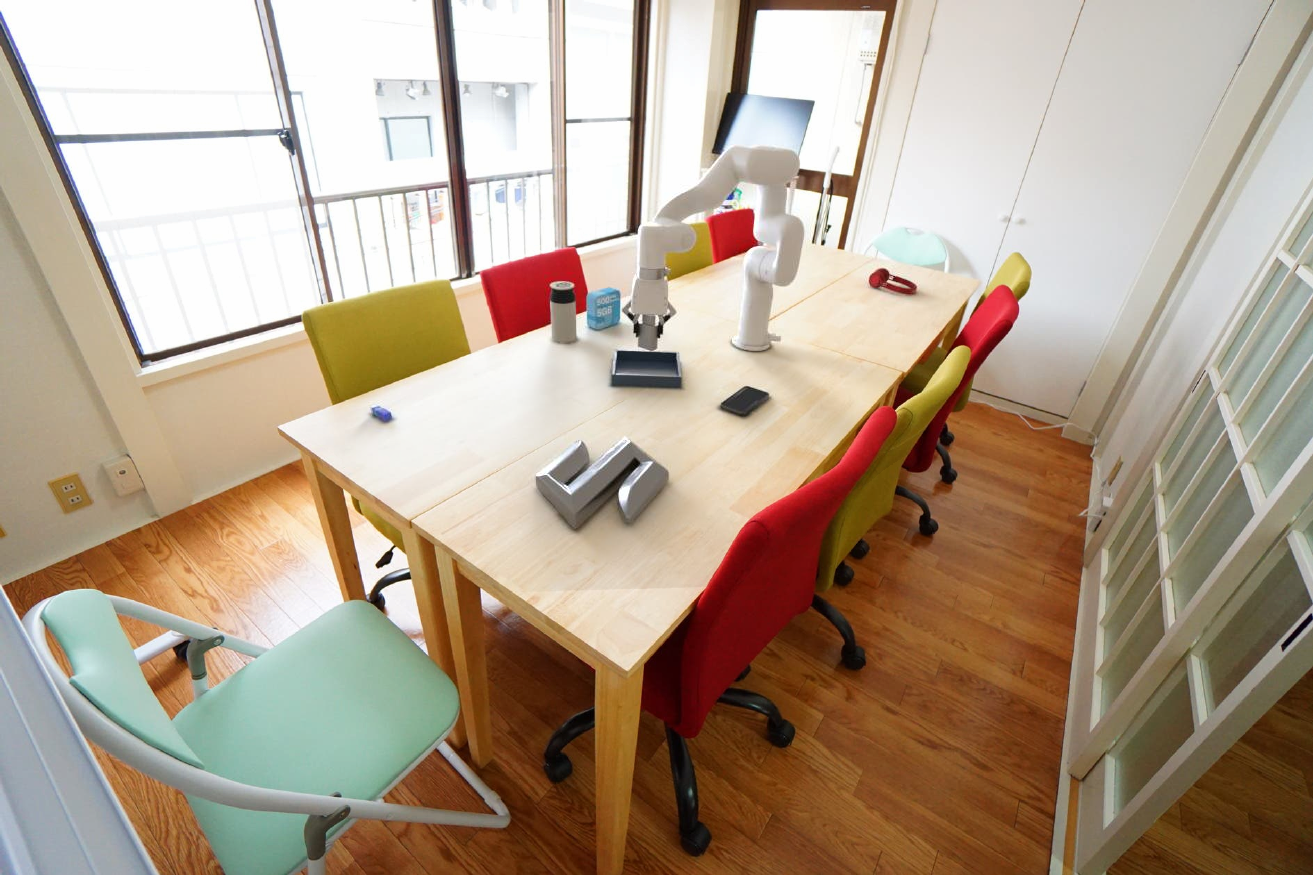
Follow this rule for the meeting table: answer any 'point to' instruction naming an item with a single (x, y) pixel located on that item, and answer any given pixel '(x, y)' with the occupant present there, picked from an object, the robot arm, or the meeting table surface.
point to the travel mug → (563, 312)
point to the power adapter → (648, 333)
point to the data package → (603, 308)
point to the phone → (744, 401)
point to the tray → (646, 369)
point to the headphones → (883, 276)
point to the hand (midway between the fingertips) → (648, 335)
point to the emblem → (601, 481)
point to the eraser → (381, 412)
